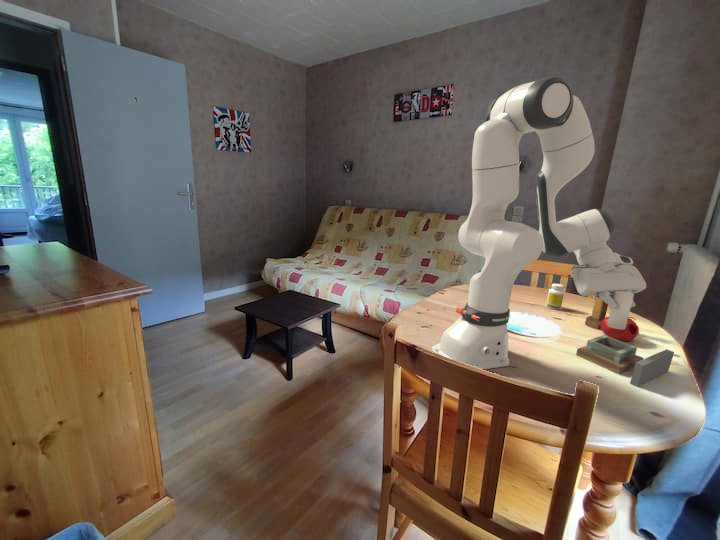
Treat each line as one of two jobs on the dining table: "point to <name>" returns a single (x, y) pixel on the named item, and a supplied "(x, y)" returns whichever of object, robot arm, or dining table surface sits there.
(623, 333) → the pomegranate
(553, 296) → the supplement bottle
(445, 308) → the dining table surface
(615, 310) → the dowel
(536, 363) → the dining table surface
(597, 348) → the socket block
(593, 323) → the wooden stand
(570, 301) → the dining table surface
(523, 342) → the dining table surface
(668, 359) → the backstop wall
